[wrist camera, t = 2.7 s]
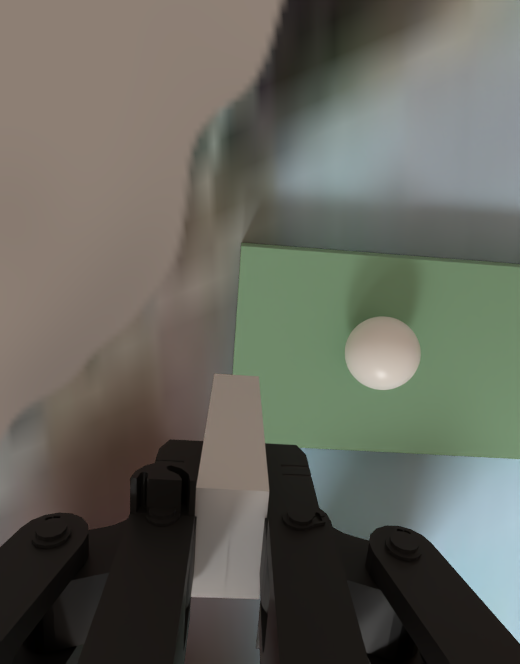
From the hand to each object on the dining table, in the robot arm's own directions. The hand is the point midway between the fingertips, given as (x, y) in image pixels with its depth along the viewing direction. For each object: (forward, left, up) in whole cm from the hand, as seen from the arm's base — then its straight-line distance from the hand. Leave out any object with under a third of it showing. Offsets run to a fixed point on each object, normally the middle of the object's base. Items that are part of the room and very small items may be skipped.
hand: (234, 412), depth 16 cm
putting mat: (-1, -14, -14) cm, 20 cm away
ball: (0, -8, -9) cm, 12 cm away
